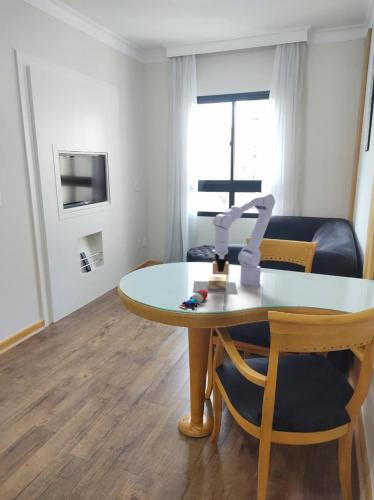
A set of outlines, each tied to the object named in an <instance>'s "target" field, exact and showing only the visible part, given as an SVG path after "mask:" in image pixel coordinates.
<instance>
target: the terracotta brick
mask: <svg viewBox="0 0 374 500" xmlns="http://www.w3.org/2000/svg"><path fill="white" fill-rule="evenodd" d="M212 275H222V276H223V275H227V276H228V275H229V261H226V263H225V266H224V270H223V272H218V266H217V261H216V260H214V261H212Z"/></svg>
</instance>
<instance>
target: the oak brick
mask: <svg viewBox="0 0 374 500" xmlns="http://www.w3.org/2000/svg"><path fill="white" fill-rule="evenodd" d="M208 282H209V286H208V289H226V282H227V279H226V276H210V275H209V276H208Z"/></svg>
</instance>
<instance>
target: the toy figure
mask: <svg viewBox="0 0 374 500" xmlns="http://www.w3.org/2000/svg"><path fill="white" fill-rule="evenodd" d="M208 295H209V294H208V293H207V291H206V290H199V291H197V292H196V293H193V295H191V296H190V297H189V299H188V300H186V301H183V302H181V303H182V304H180V305H179V306H182V307H185V308H189V307H191V308H194V309H195V308H198V306H199V305H198V304H201V303H203V302H205V301H206V299H207V298H208Z"/></svg>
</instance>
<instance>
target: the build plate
mask: <svg viewBox="0 0 374 500" xmlns="http://www.w3.org/2000/svg"><path fill="white" fill-rule="evenodd" d="M208 286H209V280H208V281H207V280H206V281H205V280H202V281H201V280H200V281H199V280H194V281H193V289H192V294H195V293H196V292H197V291H199V290H206V291H207V293H208V295H210V294H211V295H212V294H213V295H238V290H237V289H238V288H237V285H236V282H229V281H226V289H208Z"/></svg>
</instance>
